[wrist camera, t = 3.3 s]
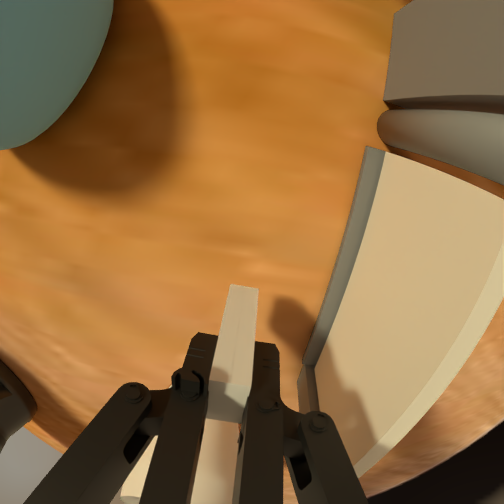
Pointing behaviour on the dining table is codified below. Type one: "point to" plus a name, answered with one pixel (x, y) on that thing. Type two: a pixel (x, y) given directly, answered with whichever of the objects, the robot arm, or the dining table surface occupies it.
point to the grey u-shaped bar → (425, 124)
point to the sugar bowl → (45, 60)
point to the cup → (198, 466)
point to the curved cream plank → (410, 305)
